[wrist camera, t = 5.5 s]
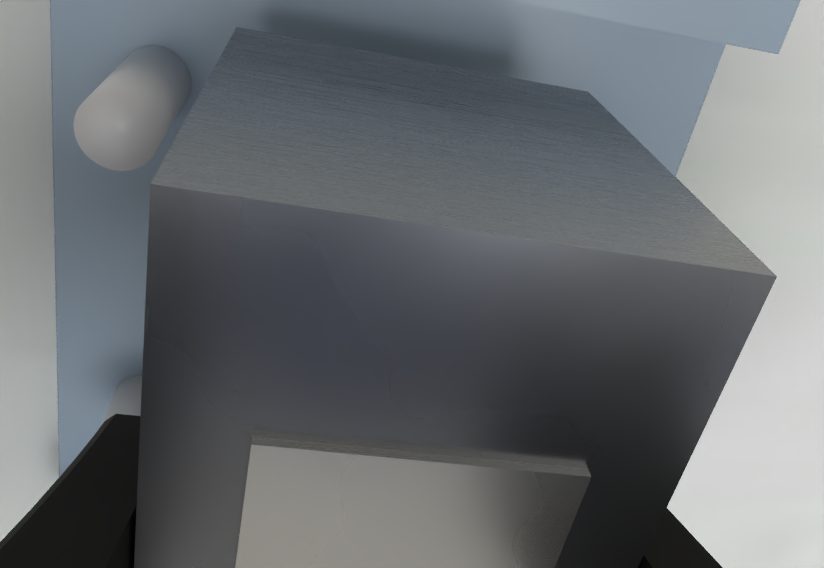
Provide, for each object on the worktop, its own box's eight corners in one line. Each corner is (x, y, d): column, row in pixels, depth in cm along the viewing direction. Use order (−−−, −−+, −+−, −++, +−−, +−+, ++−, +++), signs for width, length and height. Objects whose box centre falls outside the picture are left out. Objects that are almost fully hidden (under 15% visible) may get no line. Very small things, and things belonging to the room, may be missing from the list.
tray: (514, 542, 19) (549, 678, 16) (74, 508, 17) (18, 653, 14) (745, -96, 12) (882, -76, 9) (69, -255, 10) (-40, -297, 7)
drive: (452, 531, 14) (506, 853, 9) (193, 510, 13) (120, 849, 9) (588, 90, 10) (784, 282, 6) (236, 27, 9) (147, 190, 5)
